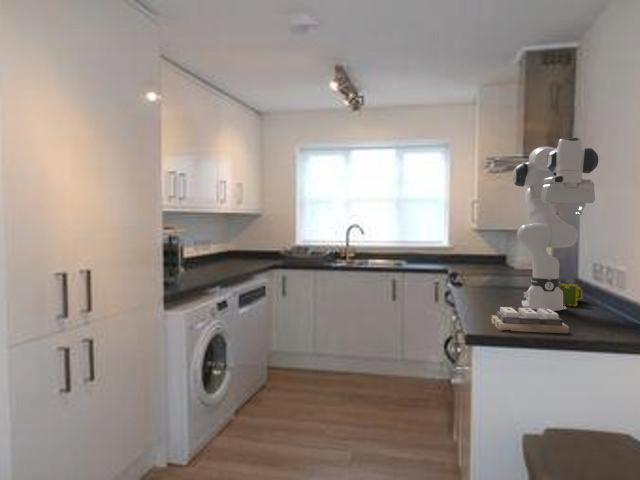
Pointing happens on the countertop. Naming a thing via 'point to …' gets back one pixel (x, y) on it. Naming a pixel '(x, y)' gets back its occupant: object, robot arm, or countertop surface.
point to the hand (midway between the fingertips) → (567, 214)
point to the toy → (571, 294)
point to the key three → (547, 313)
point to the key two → (528, 313)
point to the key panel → (529, 324)
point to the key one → (509, 312)
